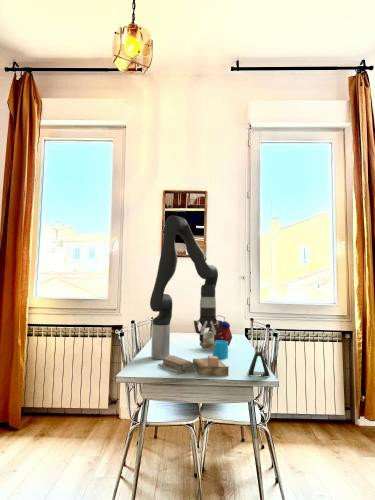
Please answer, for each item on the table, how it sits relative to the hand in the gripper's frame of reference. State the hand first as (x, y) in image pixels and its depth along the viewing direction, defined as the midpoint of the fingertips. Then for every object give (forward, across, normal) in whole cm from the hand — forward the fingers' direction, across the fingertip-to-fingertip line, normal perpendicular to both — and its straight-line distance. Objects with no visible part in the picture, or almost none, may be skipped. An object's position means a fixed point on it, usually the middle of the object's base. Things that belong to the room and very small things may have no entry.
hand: (207, 342), depth 159 cm
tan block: (+2, 0, 0) cm, 2 cm away
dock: (+12, 0, -4) cm, 12 cm away
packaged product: (+12, -14, 0) cm, 19 cm away
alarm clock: (+12, +17, +42) cm, 47 cm away
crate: (+9, 0, -10) cm, 13 cm away
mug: (+12, +13, +22) cm, 28 cm away
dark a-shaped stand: (+12, +20, -14) cm, 27 cm away
